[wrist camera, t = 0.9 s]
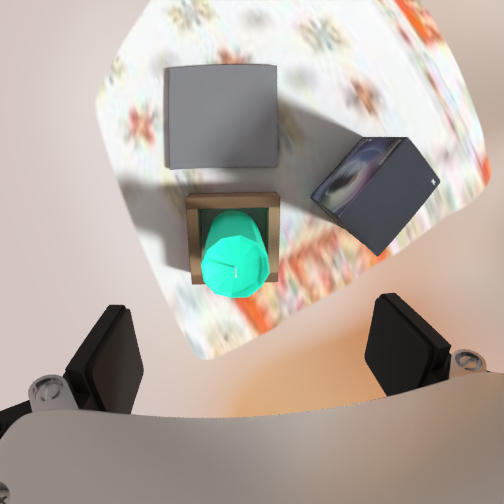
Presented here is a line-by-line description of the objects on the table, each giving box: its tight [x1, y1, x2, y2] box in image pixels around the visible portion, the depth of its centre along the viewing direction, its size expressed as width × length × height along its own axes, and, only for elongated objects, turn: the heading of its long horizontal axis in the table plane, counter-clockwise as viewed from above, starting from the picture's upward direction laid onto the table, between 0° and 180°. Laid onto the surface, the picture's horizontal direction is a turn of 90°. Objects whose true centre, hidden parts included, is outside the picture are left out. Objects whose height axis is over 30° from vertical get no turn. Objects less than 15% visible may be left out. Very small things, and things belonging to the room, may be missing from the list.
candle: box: [201, 210, 270, 298], centre depth 30 cm, size 6×6×12 cm
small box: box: [311, 137, 440, 256], centre depth 30 cm, size 11×6×10 cm, turn 139°
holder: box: [186, 192, 280, 284], centre depth 34 cm, size 10×10×3 cm
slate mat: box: [169, 65, 277, 170], centre depth 30 cm, size 12×12×1 cm
